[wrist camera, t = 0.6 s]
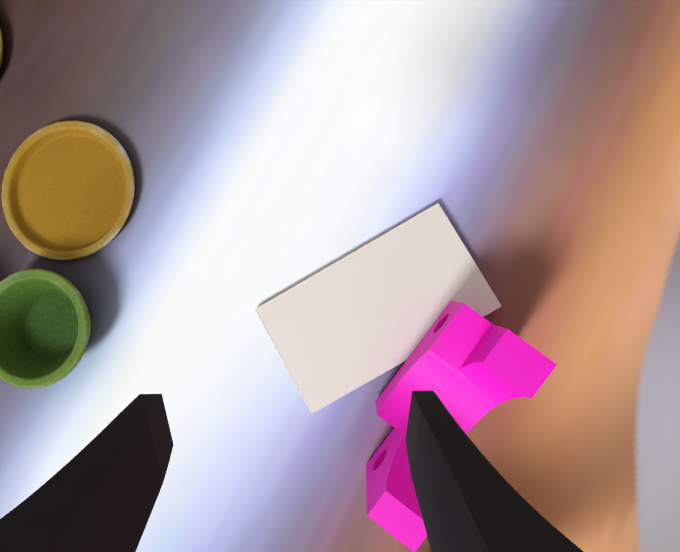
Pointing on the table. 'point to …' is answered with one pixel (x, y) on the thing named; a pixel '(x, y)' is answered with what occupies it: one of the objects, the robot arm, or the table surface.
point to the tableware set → (57, 242)
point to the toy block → (445, 402)
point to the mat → (373, 307)
